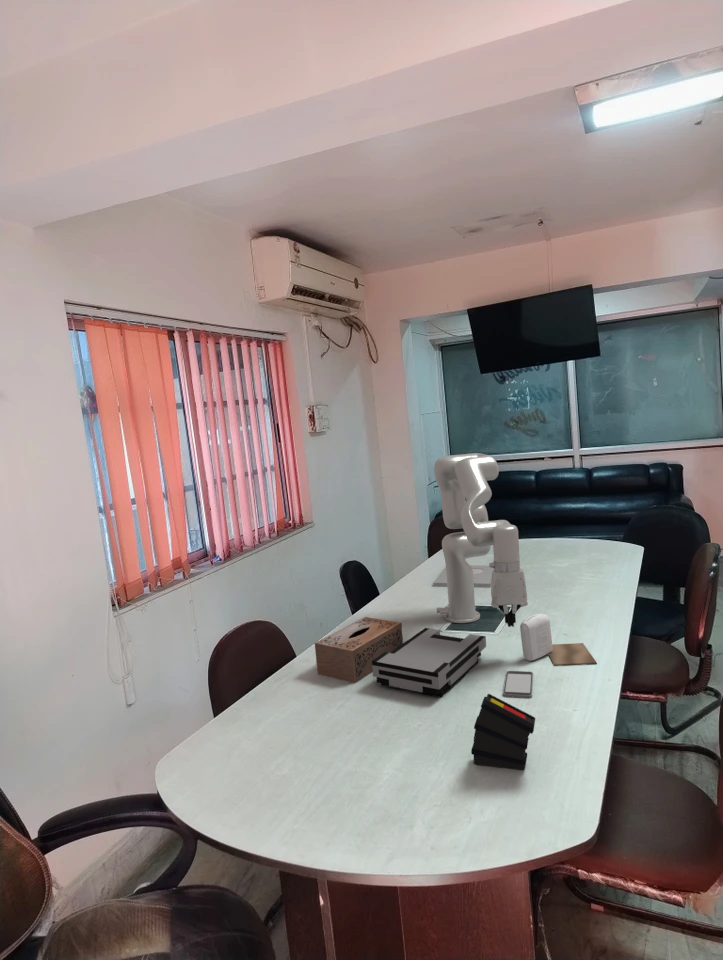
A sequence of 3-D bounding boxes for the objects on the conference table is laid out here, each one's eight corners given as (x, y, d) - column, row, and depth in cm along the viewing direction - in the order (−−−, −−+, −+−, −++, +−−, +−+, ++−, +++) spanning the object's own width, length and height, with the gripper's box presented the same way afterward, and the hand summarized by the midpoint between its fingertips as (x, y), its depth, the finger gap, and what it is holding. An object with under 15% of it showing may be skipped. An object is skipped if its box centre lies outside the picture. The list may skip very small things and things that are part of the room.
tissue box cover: (367, 645, 208) (365, 616, 207) (403, 652, 200) (401, 622, 199) (317, 674, 188) (314, 643, 187) (355, 684, 179) (352, 651, 178)
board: (554, 665, 180) (554, 664, 180) (543, 646, 195) (543, 644, 195) (596, 664, 179) (596, 662, 179) (582, 644, 194) (582, 643, 194)
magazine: (461, 747, 138) (486, 691, 134) (517, 778, 135) (545, 721, 131) (457, 756, 135) (484, 699, 131) (515, 788, 131) (544, 730, 127)
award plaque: (433, 587, 270) (433, 582, 270) (446, 569, 298) (446, 565, 298) (490, 588, 262) (490, 583, 262) (498, 570, 290) (498, 565, 290)
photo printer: (544, 648, 192) (539, 609, 191) (555, 651, 189) (550, 612, 188) (521, 659, 187) (516, 619, 186) (532, 662, 183) (527, 622, 182)
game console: (487, 658, 190) (485, 632, 189) (440, 702, 164) (438, 673, 163) (426, 648, 202) (425, 624, 201) (374, 688, 176) (371, 660, 175)
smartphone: (533, 671, 176) (531, 695, 162) (533, 675, 176) (531, 699, 162) (506, 670, 178) (502, 694, 164) (506, 674, 178) (503, 698, 164)
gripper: (483, 570, 183) (486, 630, 184) (534, 567, 181) (538, 628, 183) (480, 564, 190) (484, 622, 192) (530, 561, 189) (533, 619, 190)
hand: (510, 625), depth 187 cm, fingers closed
